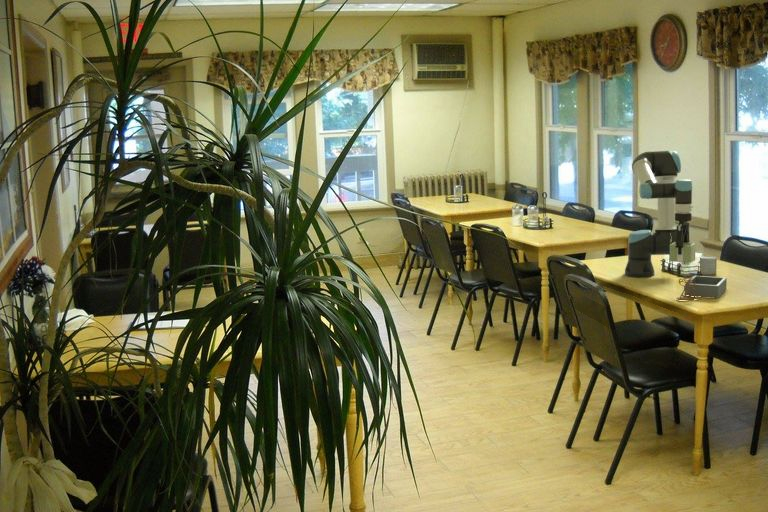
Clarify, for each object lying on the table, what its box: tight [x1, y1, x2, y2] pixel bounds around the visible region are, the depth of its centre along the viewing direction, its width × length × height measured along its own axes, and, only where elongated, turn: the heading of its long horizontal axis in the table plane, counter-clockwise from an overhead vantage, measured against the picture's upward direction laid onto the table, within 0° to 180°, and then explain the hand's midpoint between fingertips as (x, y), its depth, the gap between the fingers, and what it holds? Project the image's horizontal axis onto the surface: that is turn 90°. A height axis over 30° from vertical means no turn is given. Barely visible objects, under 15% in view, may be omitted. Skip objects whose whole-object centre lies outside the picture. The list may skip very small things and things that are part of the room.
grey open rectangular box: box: [684, 275, 728, 299], centre depth 425 cm, size 15×20×6 cm
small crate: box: [669, 242, 696, 263], centre depth 426 cm, size 10×8×8 cm
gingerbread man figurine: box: [676, 273, 699, 301], centre depth 412 cm, size 9×4×12 cm, turn 95°
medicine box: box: [698, 256, 718, 276], centre depth 466 cm, size 8×4×9 cm, turn 84°
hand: (682, 259), depth 427 cm, fingers closed on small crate, 8 cm apart
